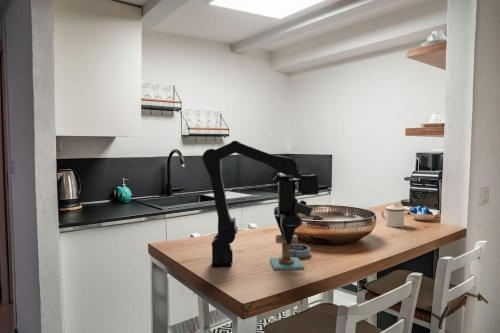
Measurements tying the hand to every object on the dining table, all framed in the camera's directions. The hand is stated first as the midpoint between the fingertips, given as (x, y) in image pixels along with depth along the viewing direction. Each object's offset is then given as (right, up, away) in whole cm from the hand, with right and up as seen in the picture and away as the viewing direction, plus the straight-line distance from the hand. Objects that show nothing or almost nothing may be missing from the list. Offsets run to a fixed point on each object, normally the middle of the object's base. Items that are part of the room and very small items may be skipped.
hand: (286, 240), depth 120 cm
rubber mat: (0, -8, 0) cm, 8 cm away
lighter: (+17, -6, +36) cm, 40 cm away
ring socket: (+5, -8, +12) cm, 15 cm away
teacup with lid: (+60, -5, +59) cm, 84 cm away
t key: (0, -8, 0) cm, 8 cm away
